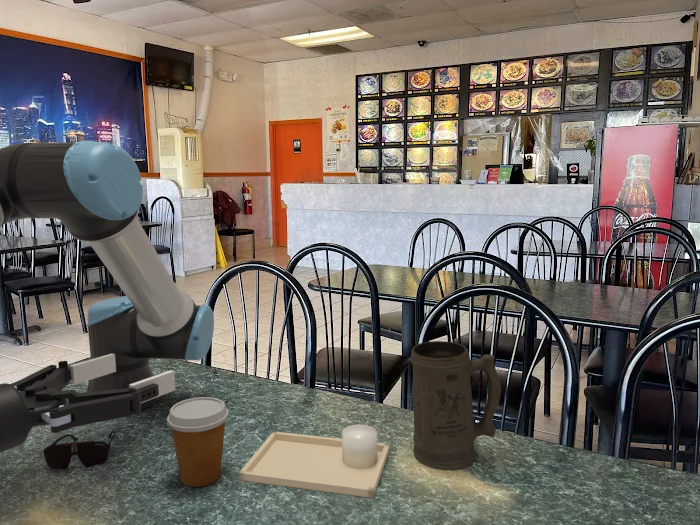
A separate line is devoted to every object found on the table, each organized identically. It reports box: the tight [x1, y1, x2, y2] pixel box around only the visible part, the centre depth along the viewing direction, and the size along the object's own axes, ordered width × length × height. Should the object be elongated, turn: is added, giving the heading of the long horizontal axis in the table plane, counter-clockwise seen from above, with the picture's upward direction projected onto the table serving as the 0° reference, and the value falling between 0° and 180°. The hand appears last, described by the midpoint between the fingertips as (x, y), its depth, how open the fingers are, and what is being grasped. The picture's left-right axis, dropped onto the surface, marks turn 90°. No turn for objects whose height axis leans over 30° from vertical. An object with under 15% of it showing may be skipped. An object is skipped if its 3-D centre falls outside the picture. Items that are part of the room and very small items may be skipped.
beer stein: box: [409, 340, 502, 471], centre depth 95 cm, size 15×11×20 cm
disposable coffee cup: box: [166, 396, 229, 488], centre depth 89 cm, size 10×10×12 cm
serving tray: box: [238, 431, 391, 499], centre depth 93 cm, size 15×22×2 cm
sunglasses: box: [42, 430, 117, 471], centre depth 98 cm, size 10×12×5 cm
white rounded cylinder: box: [341, 424, 378, 469], centre depth 94 cm, size 6×6×5 cm
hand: (142, 370), depth 79 cm, fingers open, 13 cm apart
